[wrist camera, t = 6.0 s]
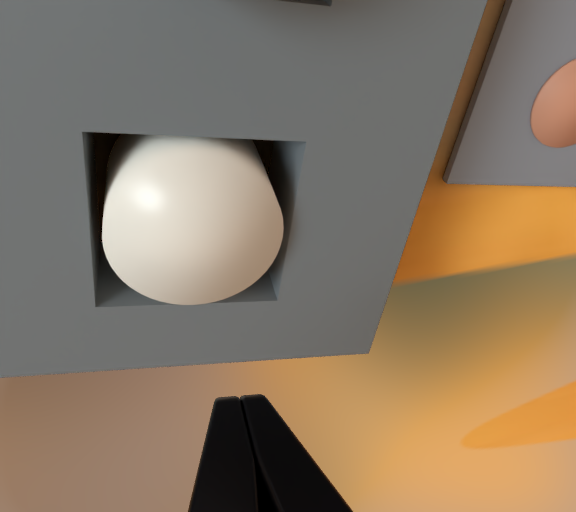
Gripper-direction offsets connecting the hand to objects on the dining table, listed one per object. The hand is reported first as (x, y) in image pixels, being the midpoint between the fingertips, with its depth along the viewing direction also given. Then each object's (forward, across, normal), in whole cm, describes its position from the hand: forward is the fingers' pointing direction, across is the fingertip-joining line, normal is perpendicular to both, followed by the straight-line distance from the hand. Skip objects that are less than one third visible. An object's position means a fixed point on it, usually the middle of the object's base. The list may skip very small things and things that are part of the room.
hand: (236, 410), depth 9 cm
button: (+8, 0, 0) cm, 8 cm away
